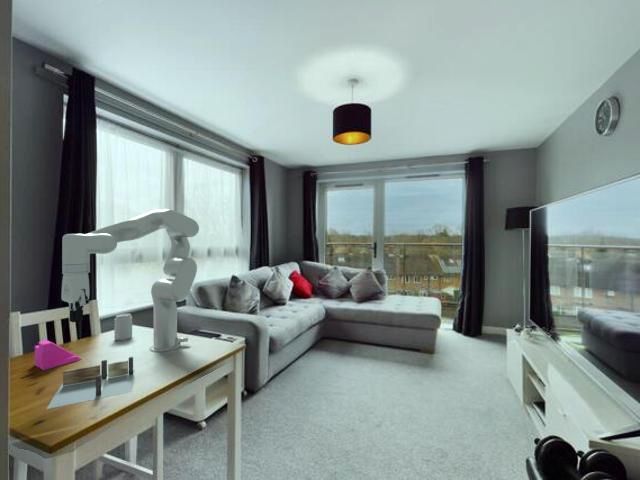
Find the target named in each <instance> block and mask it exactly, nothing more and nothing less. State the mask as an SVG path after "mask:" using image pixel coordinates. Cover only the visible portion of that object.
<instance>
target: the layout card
mask: <svg viewBox="0 0 640 480" xmlns="http://www.w3.org/2000/svg"><path fill="white" fill-rule="evenodd" d="M134 376H135V370H134V369H133V374H132V375H129V370H128V374H126V375H121V376H115V377H110V378H108V374H107V379H105V380H101V395H100V396H96V380H93V381H88V382H82V383H77V384H71V385H66V386H63V382H62V384H61V385H60V387H59V388H58V390H56V391H57V392H56V393H55V394H54V396H53V398H52V399H51V401H50V403H49V404H48V406H47V407H46V410H52V409H54V408H59V407H64V406H71V405H75V404H79V403H85V402H88V401H93V400H94V401H95V400H98V399H104V398H108V397H113V396H118V395H122V394H126V393H127V394H128V393H131V392H133V383H134V378H135V377H134Z"/></svg>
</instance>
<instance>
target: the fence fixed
mask: <svg viewBox="0 0 640 480" xmlns="http://www.w3.org/2000/svg"><path fill="white" fill-rule="evenodd" d="M100 363H101V364H100V375H97V376H96V396H100V395H101V380H105V379H107V375H108V378H110V377H115V376H121V375H126V374H128V371H129V375H132V374H133V370H134V356H129V357H128V360H122V361H115V362H109V363H108V360H107V359H104V360H101V362H100Z"/></svg>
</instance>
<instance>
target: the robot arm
mask: <svg viewBox="0 0 640 480" xmlns="http://www.w3.org/2000/svg"><path fill="white" fill-rule="evenodd" d="M199 227H200V225H199V223H198V222H197V221H196V220H195V219H193V218H191V217H189V216H187V215H185V214H182V213H181V212H180V211H179V212H178V211H176V210H174V209H169V208H168V209H167V208H164V209H154V210H151V211H148V212H146V213H143V214H141V215H138V216H136V217H132V218H130V219H127V220H124V221H121V222H118V223H114V224H112V225H108V226H103V227H101V228H99V229H95V230H93V231H90V232H88V233H85V234H84V233H66V234H64V235H63V236H62V240H61V241H62V245H61V246H62V249H61V250H62V251H61V253H62V256H61V259H62V262H61V263H62V264H61V265H62V266H61V268H62V269H61V270H62V272H61V274H62V275H63V276H62V280H61V297H60V298H61V301H62V302H63V301H64V303H65V302H66V303H68V310H69V322H70V323H78V322H83V321H84V308H85V306H86V305H87V303H86V302H87V301H89V299H90V278H89V273H91V263H90V262H91V261H90V260H91V254H98V255H103V254H105V255H107V254H110V253H112V252H114V250H116V248H117V247H118V244H119V243H122V242H129V241H135V240H139V239H142V238H144V237H146V236H148V235H150V234H152V233H155V232H157V231H159V230H161V229H163V230H164V229H165V231H166V234H167V235H168V236H169V240H170V242H171V245H170V249H169V251H168V254H167V257H166V260H165V262H164V264H163V267H162V271H163V274H165V276H168V277H170V278H160V279H158V280H156V281H154V283H153V284H152V285H151V289H150V294H151V298H152V304H153V305H152V307H153V344H152V345H150V347H149V351H150V352H153V353H163V352H164V353H166V352H170V351H173V350H178V349H179V348H180V347H181V346H182V344H181V343H185V342H189V336H188V337H187V336H186V337H185V336H181V337H180V336H178V305H177V302H183V301H185V300H186V299H187V297H188V296H189V295H190V292H191V290H192V287H193V284H194V281H195V278H196V274H197V272H198V266H197V265H198V264H197V262H196V260H195V259H193V258H192V257H189V255H190V251H191V244H190V240H189V239H188V238H194V237H195V236H197V235H198V233H199V231H200V228H199ZM173 278H174V279H173Z"/></svg>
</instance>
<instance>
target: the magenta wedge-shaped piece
mask: <svg viewBox="0 0 640 480" xmlns="http://www.w3.org/2000/svg"><path fill="white" fill-rule="evenodd" d="M78 361H82V358H80V357H79V356H77V355H76V354H74V353H72V352H70V351H68V350H66V349H65V348H63V347H61V346H60V345H58V344H55V343H54V342H52V341H49V340H48V339H47V340H42V341H38V345H35V346H34V366H35V367H36V366H37V367H36V368H39V369H41V370H42V371H45V370H49V369H51V368H55V367H59V366H64V365H67V364H70V363H74V362H78Z"/></svg>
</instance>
